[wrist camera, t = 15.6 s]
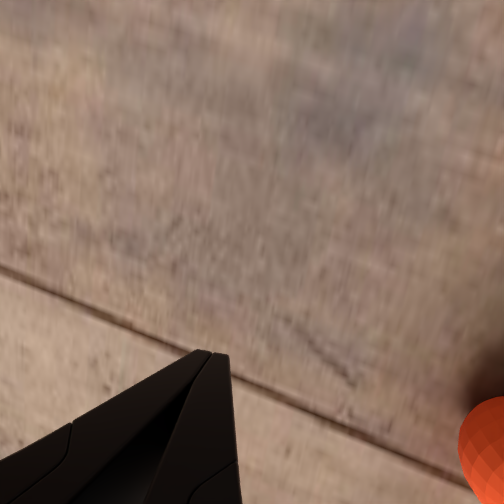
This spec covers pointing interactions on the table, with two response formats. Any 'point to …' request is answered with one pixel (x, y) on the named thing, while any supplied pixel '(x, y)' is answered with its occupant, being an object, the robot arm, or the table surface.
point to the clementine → (484, 450)
